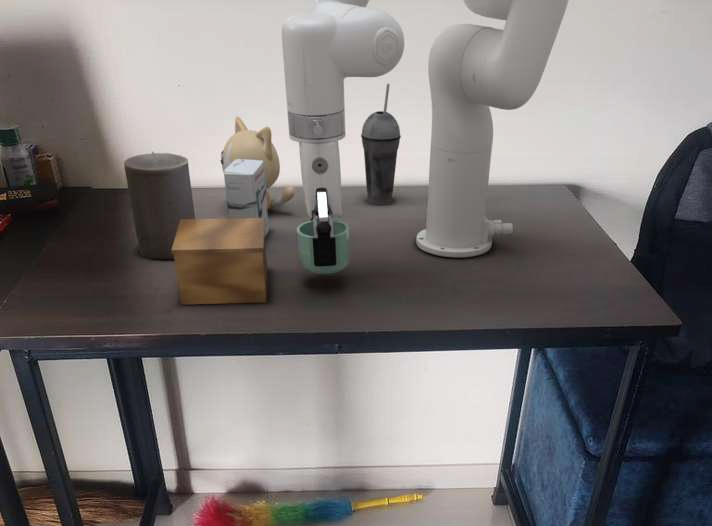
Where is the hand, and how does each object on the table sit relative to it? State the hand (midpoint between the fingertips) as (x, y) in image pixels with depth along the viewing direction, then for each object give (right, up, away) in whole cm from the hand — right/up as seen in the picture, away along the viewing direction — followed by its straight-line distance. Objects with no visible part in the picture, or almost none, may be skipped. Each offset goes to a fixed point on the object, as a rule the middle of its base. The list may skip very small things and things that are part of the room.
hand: (323, 253), depth 112 cm
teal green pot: (0, -1, +1) cm, 2 cm away
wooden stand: (-15, -5, +1) cm, 15 cm away
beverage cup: (+8, +21, +34) cm, 41 cm away
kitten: (-15, +17, +29) cm, 37 cm away
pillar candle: (-26, +5, +13) cm, 30 cm away
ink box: (-14, +8, +17) cm, 23 cm away
